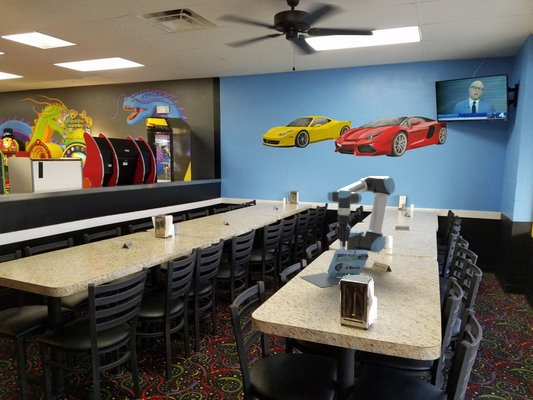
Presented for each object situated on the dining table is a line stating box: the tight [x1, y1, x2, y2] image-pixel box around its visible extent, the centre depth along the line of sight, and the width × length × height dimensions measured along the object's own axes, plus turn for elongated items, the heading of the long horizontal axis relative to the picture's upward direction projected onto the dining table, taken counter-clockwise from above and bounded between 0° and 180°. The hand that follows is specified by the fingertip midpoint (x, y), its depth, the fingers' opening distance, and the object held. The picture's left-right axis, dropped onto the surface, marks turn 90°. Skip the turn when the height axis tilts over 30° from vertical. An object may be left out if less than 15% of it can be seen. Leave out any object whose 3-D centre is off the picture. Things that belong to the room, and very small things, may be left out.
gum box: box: [327, 249, 369, 278], centre depth 234 cm, size 20×5×23 cm
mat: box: [299, 272, 341, 289], centre depth 236 cm, size 20×23×1 cm
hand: (342, 251), depth 241 cm, fingers closed
